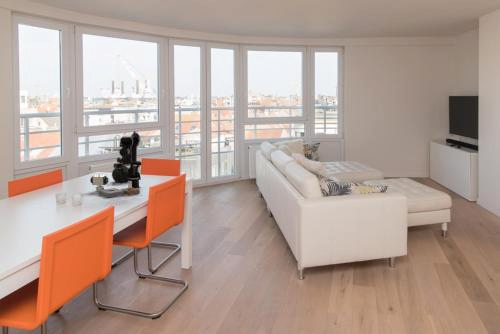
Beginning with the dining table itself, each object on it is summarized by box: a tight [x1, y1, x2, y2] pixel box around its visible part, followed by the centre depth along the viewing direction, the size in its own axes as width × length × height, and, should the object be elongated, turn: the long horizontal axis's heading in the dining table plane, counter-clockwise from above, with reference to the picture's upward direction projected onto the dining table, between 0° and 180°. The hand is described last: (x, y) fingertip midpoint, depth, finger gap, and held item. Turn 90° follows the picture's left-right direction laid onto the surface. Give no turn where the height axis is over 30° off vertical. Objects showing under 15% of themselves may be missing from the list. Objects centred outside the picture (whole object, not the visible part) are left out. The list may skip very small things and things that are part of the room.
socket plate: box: [97, 187, 126, 199], centre depth 298 cm, size 12×14×3 cm
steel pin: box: [127, 181, 132, 190], centre depth 302 cm, size 2×2×8 cm
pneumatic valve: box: [89, 173, 110, 192], centre depth 310 cm, size 6×12×12 cm, turn 84°
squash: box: [111, 166, 129, 183], centre depth 344 cm, size 14×15×15 cm
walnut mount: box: [120, 187, 140, 196], centre depth 302 cm, size 9×10×3 cm
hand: (128, 176), depth 300 cm, fingers open, 9 cm apart
